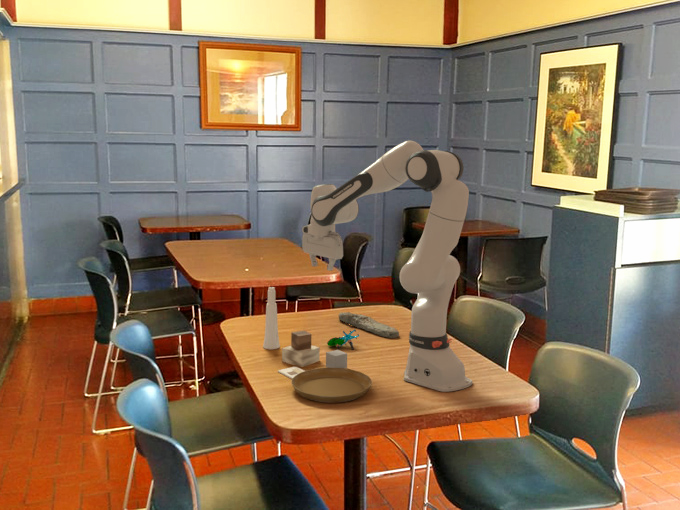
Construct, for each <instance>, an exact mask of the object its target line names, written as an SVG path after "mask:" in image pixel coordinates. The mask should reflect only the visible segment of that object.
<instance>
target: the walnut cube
mask: <svg viewBox="0 0 680 510" xmlns="http://www.w3.org/2000/svg"><path fill="white" fill-rule="evenodd" d="M290 338H291V339H290V344H291V347H293V348H295V349H296V350H298V351H299V350H305V349H311V345H312V333H310V332H308V331H306V330H299V331H292V332H291V333H290Z"/></svg>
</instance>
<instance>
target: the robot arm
mask: <svg viewBox="0 0 680 510" xmlns="http://www.w3.org/2000/svg"><path fill="white" fill-rule="evenodd" d="M463 173H464V162H463V160H462V159H461V157H460V156H459V155H457V154H456V153H454V152H452V151H447V150H439V149H430V150H424V149H423V147H422V146H421V145H420V144H419V143H418V142H416V141H415V140H405V141H403V142H401V143H399V144H397V145H396V146H394V147H392V148H391V149H389V150H388V151H387V152H385V153H384V154H383V155H382V156H380V157H379V158H378V159H377V160H375V161H374V162H373V163H371V164H370V165H368V167H366V168H365V169H364V170H362V171H361V172H359V173H358V174H356V176H354V177H352V178H351V179H348V181H346V182H344V183H343V184H341V186H339V187H336V186H335V184H332V183H325V184H323V183H322V184H317V185H315V186H314V187H313V188H312V190H311V196H310V213H311V217H310V221H309V222H310V223H309V224H307V225H305V226H303V227H302V229H301V230H302V231H301V232H302V233H303V234H302V238H301V239H302V240H301V241H302V242H301V243H302V244H301V245H302V246H301V247H302V250H303V251H302V252H304V253H306V254H309V258H310V262H311V266H312V267H318V264H319V262H318V261H317V258H316V257H317V256H318V257H321V258H322V257H323V258H328V261H329V262H328V265H326V270H327V271H330V272H331V271H334V266H335V264H336V262H337V260H342V259H343V257H344V245H343V240H342V236H341V235H340V233H338V232H336V225H338V224H344V223H351V222H352V221H355V220H356V219H357V217H358V216H359V212H360V207H359V203H358V201H357V199H359V198H361V197H362V198H363V197H365V196H368V195H372V194H379V193H386V192H390V191H391V190H394V189H396V188H398V187H400V186H401V185H403V184H404V183H405V182H407V181H408V180H410V182H411V183H412V184H415V185H416V186H418V188H419V187H420V188H421V189H422V190H423V191H424V192H426V193H429V192H431V195H432V199H431V203H430V207H429V211H428V213H427V218H426V220H425V223H424V224H425V225H424V228H423V231H422V235H421V237H420V239H419V241H418V243H417V244H416V247H415V248H414V250H413V252H412V255H411V256H410V257H409V259H408V261H407V262H405V264H404V265H403V266H402V267H401V268H400V272H399V282H400V285H401V286H402V288H403V289H404V290H405V291H406V292H408V293H410V294H416V295H417V294H418V296H417V297H416V298H417V299H416V300H415V302H414V304H413V305H412V308H411V317H410V318H411V319H410V321H411V323H410V331H409V334H408V342H409V348H408V349H409V350H408V355H407V362H406V366H405V370H404V373H403V374H404V377H403V381H405V382H408V383H412V384H415V385H418V386H421V387H424V388H425V387H426V388H427V389H428V388H429V389H432V390H435V391H439V392H442V393H444V392H447V393H449V392H455V391H459V390H463V389H467V388H468V387H471V386H472V384H473V379H471V378H469V377H467V376H466V368H465V365H464V362H463V361H462V360H461V359H460V358H459V357H458V355H457V354H456V353H455V352H454V350H453V349H452V348H451V347H450V343H453V341H452V340H453V338H448V334H447V317H448V316H447V315H448V308H449V303H450V299H451V297H452V292H453V288H454V286H455V283H456V282H457V280H458V278H459V277H460V274H461V265H460V263H459V261H458V259H457V258H456V257H455V256H453V255H451V254H452V251H454V249H455V247H457V245H458V243H459V241H460V240H459V239H460V236H461V233H462V231H463V226H464V223H465V219H466V215H467V211H468V205H469V200H470V199H469V195H470V191H469V187H468V186H467V184H466V183H464V182H463V181H461V180H460V179H461V177H462V175H463Z"/></svg>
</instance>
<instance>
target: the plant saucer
mask: <svg viewBox="0 0 680 510" xmlns="http://www.w3.org/2000/svg"><path fill="white" fill-rule="evenodd" d="M372 381H373V380H372V379H371V378H370V376H368V374H366V373H364V372H361V371H359V370H354V369H350V368H328V367H320V368H312V369H307V370H304V372H301V373H299V374H297V375H296V376H294V377H293V379H291V386H292V387H293V390H294V391H295V392H296V393H297V394H299V395H300V396H301V397H303V398H305V399H307V400H310V401H313V400H314V401H313V402H318V401H319V403H326V402H327V403H329V404H330V403H333V404H335V403H338V404H339V403H344V402H351V401H353V400H357V399H358V398H361V397H363V395H365V394H366V393H367V392H368V391H369V389H370V388H371V387H372V383H373V382H372Z"/></svg>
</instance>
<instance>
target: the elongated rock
mask: <svg viewBox="0 0 680 510" xmlns="http://www.w3.org/2000/svg"><path fill="white" fill-rule="evenodd" d="M338 320H340V321H341V322H342V321H343V323H344V322H345V323H344V324H346V323H348V324H350V325H352V326H351V327H354V326H355V328H356V327H357V329H363V330H364V331H365V332H369V333H372V334H374V335H376V334H377V335H376V336H379V337H384V338H386V339H387V338H388V339H397V337H398V338H399V337H400V332H399V331H398V329H397V328H395V327H392V326H390V325H387V324H386V323H385V324H384V323H381V322H379V321H377V320H375V319H373V318H372V317H371V316H367V315H363V314H361V313H360V314H357V313H351V312H349V311H348V312H339V314H338ZM348 324H347V325H348Z"/></svg>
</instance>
